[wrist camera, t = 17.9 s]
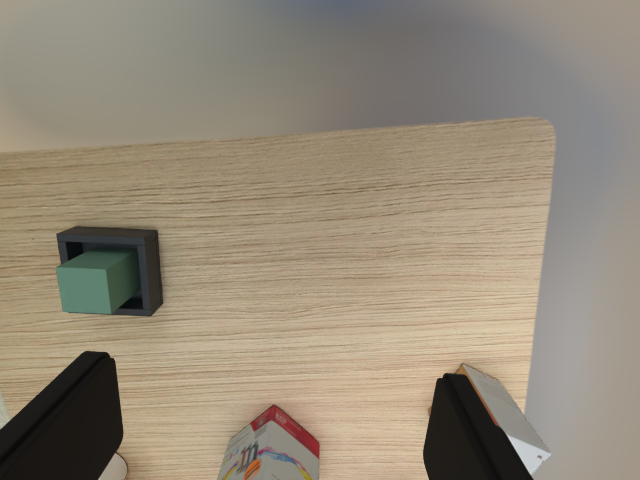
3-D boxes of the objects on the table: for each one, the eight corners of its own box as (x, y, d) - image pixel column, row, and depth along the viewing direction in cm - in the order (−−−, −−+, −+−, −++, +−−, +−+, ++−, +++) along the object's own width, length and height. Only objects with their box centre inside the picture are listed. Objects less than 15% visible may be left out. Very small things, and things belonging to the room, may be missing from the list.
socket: (75, 226, 38) (55, 233, 36) (157, 230, 39) (144, 237, 36) (86, 300, 41) (68, 313, 38) (163, 303, 41) (151, 316, 38)
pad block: (94, 247, 39) (55, 267, 33) (137, 249, 39) (105, 269, 33) (99, 286, 40) (62, 312, 34) (141, 288, 40) (111, 314, 34)
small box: (461, 361, 43) (505, 431, 33) (500, 380, 44) (555, 453, 34) (425, 411, 45) (456, 491, 35) (463, 428, 46) (504, 511, 36)
